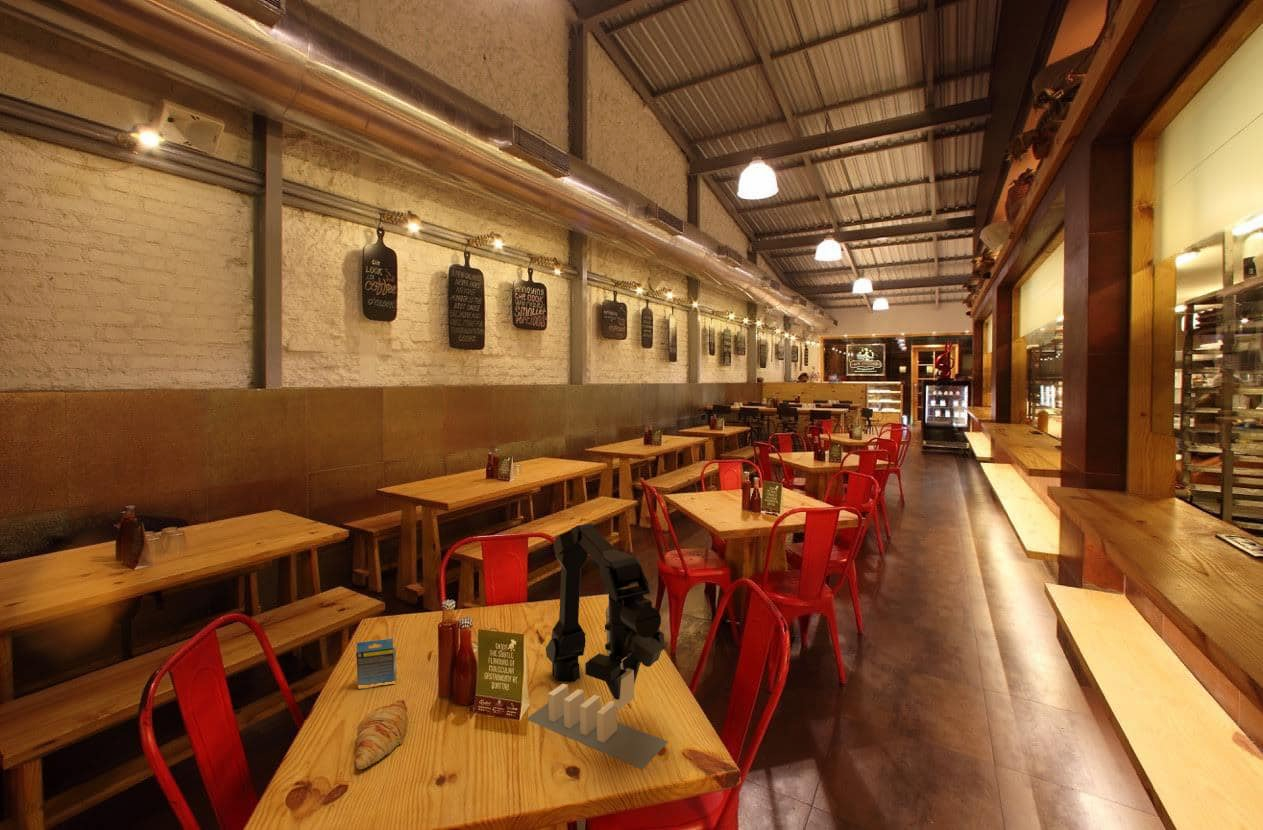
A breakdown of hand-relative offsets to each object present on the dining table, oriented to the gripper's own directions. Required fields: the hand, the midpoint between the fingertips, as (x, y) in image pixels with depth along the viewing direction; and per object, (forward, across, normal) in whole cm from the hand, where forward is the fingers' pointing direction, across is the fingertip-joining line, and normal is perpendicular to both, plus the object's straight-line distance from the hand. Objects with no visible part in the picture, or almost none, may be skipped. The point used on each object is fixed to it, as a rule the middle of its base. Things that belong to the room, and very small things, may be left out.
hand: (624, 692), depth 113 cm
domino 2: (+10, 0, +14) cm, 17 cm away
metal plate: (+12, 0, +8) cm, 14 cm away
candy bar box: (+12, +30, +22) cm, 39 cm away
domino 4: (+10, 0, +4) cm, 11 cm away
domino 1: (+10, 0, +18) cm, 21 cm away
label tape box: (+12, -13, +68) cm, 70 cm away
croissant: (+12, -26, +46) cm, 54 cm away
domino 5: (+2, 0, 0) cm, 2 cm away
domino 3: (+10, 0, +9) cm, 14 cm away
